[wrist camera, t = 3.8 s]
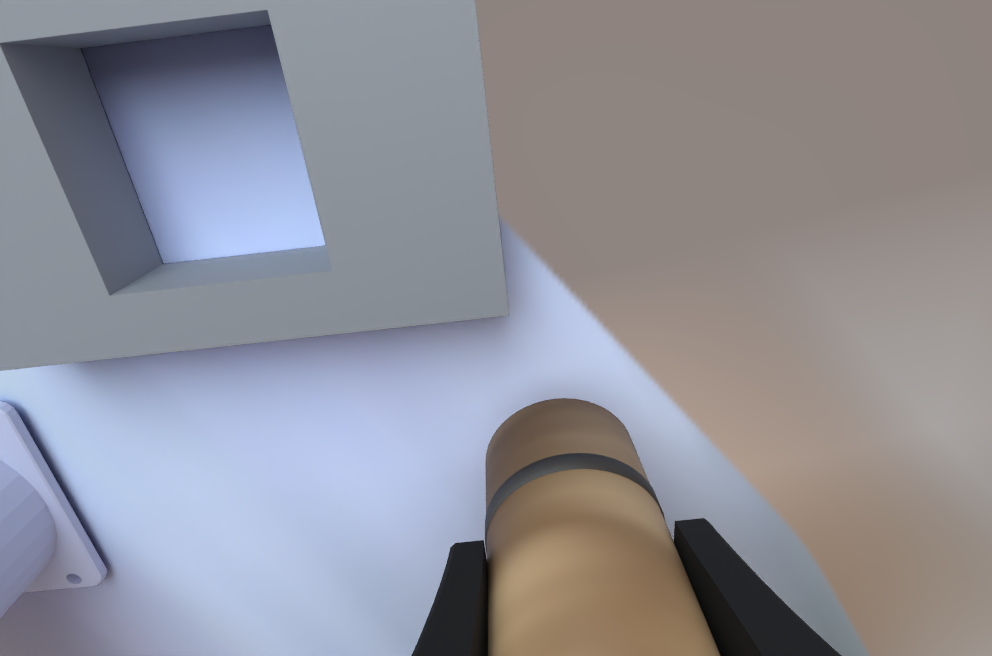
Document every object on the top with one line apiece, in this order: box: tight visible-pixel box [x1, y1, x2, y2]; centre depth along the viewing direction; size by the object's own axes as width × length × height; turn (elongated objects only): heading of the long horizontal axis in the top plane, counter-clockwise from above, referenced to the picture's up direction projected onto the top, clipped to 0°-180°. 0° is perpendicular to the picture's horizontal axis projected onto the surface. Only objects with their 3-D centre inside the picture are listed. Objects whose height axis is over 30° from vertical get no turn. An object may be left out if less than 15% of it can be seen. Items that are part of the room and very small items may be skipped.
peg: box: [485, 398, 720, 656], centre depth 11 cm, size 4×4×9 cm
